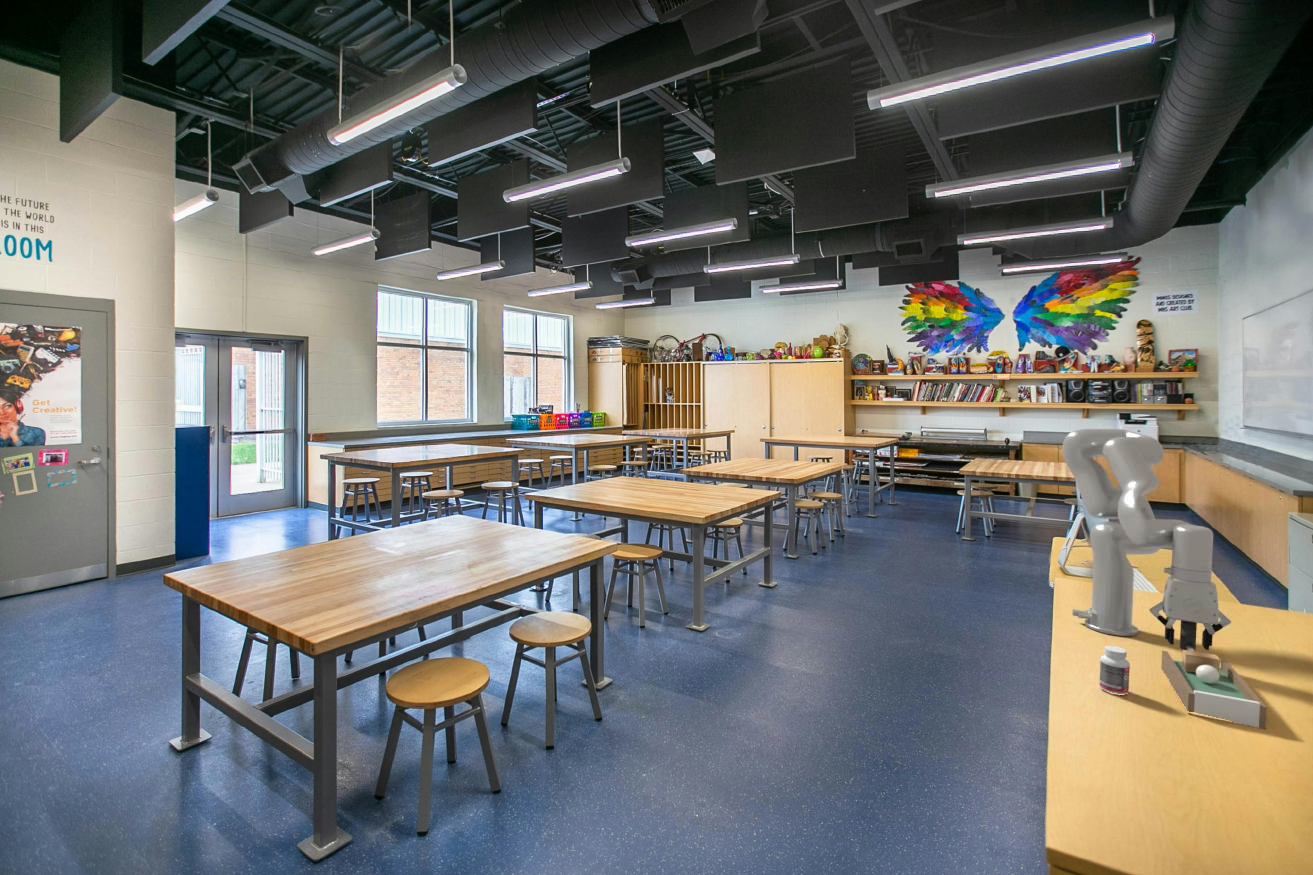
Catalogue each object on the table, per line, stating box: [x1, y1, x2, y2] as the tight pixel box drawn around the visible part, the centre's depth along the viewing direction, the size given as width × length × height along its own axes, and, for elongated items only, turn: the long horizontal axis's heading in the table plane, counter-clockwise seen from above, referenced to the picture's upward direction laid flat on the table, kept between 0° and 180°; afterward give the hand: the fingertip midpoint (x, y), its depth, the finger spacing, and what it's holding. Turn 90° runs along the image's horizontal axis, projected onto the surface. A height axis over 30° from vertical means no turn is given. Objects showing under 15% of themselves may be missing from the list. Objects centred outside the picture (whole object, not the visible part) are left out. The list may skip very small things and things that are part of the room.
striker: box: [1179, 620, 1221, 673], centre depth 147 cm, size 6×15×8 cm, turn 150°
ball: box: [1196, 665, 1220, 684], centre depth 137 cm, size 4×4×4 cm
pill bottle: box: [1098, 645, 1131, 694], centre depth 138 cm, size 5×5×10 cm
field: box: [1160, 650, 1268, 730], centre depth 136 cm, size 12×26×5 cm, turn 150°
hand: (1187, 644), depth 152 cm, fingers open, 6 cm apart
